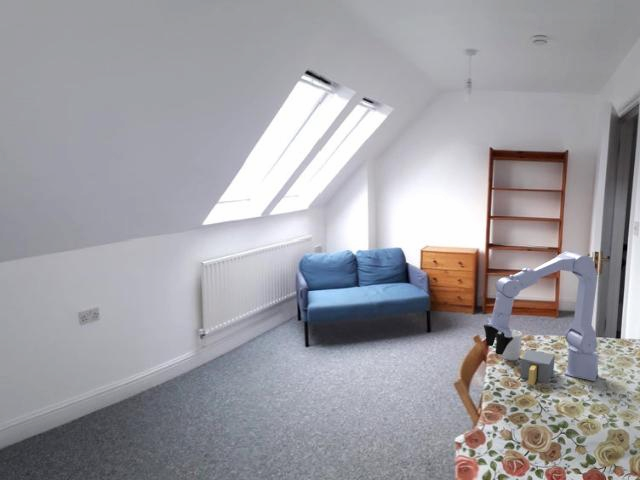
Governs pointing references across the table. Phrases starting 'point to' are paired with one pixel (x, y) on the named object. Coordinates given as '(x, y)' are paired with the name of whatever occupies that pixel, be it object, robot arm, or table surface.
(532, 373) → the yellow rectangular block
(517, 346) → the white cup
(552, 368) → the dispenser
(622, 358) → the table surface
